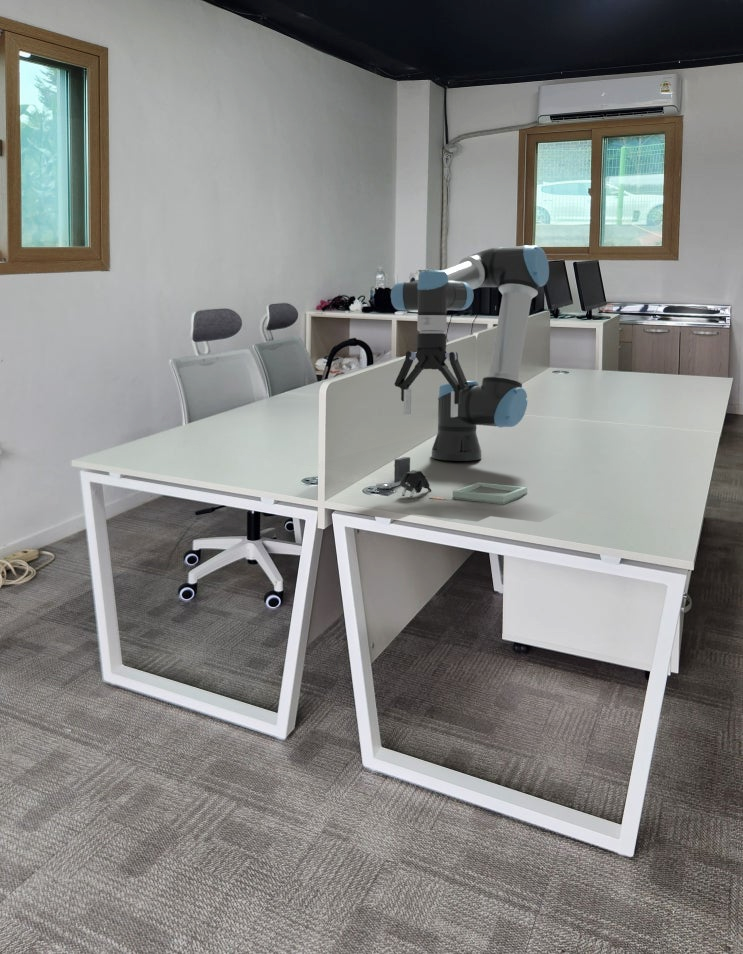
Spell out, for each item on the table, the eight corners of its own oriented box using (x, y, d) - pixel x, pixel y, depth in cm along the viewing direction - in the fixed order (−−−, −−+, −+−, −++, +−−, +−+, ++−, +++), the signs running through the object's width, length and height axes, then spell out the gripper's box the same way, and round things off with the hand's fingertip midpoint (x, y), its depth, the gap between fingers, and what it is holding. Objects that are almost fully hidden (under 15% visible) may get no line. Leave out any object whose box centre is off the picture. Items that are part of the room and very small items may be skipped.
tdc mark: (431, 497, 222) (431, 496, 222) (445, 499, 220) (445, 498, 220) (429, 498, 221) (429, 497, 221) (443, 500, 219) (443, 499, 219)
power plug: (441, 490, 227) (421, 466, 219) (431, 515, 225) (410, 492, 216) (423, 488, 231) (403, 464, 222) (413, 512, 228) (392, 489, 219)
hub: (378, 489, 233) (379, 486, 233) (401, 492, 230) (401, 488, 229) (365, 493, 227) (365, 489, 227) (388, 495, 224) (388, 492, 224)
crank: (386, 489, 225) (386, 464, 224) (373, 488, 228) (373, 462, 226) (413, 482, 238) (414, 457, 237) (401, 480, 240) (401, 456, 239)
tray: (478, 489, 234) (478, 482, 234) (527, 494, 227) (527, 487, 227) (452, 498, 221) (452, 490, 221) (503, 504, 214) (503, 496, 213)
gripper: (382, 332, 224) (381, 414, 227) (470, 332, 211) (468, 419, 215) (396, 332, 230) (395, 411, 233) (482, 332, 217) (480, 416, 221)
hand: (430, 415), depth 224 cm, fingers open, 13 cm apart
